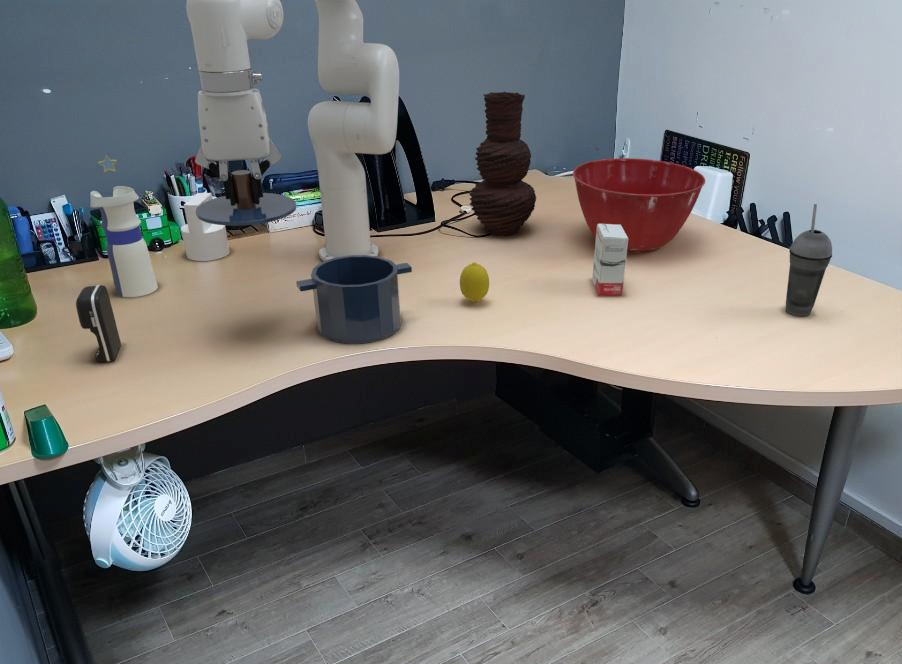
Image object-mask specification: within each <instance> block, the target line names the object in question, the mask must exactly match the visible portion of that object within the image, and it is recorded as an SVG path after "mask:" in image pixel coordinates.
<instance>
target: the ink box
mask: <svg viewBox="0 0 902 664" xmlns="http://www.w3.org/2000/svg"><path fill="white" fill-rule="evenodd" d="M594 242H595V244H594V254H593V267H592V276H591V278H592V283H593V286H594V287H595V291H596V294H597V296H601V297H602V296H609V297H610V296H612V297H613V296H623V291H624V282H625V273H626V272H625V271H626V263H627V255H628V252H627V246H628V237H627V235H626V233H625V232H624V230H623V228H622V226H621V225H614V224H597V231H596V238H595V241H594Z"/></svg>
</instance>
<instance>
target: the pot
mask: <svg viewBox="0 0 902 664" xmlns="http://www.w3.org/2000/svg"><path fill="white" fill-rule="evenodd" d="M412 272H413V268H412V266H411V265H410V264H409V263H408V262H402V263H395V262H394V261H393V260H390V259H388V258H385V257H382V256H369V255H349V256H343V257H337V258H332V259H329V260H327V261H321V262H320V263H318V264H317V265H315V266H314V267H313V268H312V270H311V273H310V278H308V279H303V280H296V282H295V284H296V287H297V289H298V291H300V292H307V291H311V290H312V295H313V302H314V303H313V305H314V311H315V320H316V327H317V329H318V333H319V334H320V336H321V337H323V338H325V339H327V340H329V341H332V342H335V343H339V344H349V345H356V344H358V345H359V344H370V343H373V342H379V341H383V340H385V339H387V338H390V337H392V336H393V335H395V334H396V333H397V332H398V331H399V330H400V328H401V325H402V316H401V315H402V312H401V296H400V281H399V280H400V279H399V275H404V274H408V273H412Z"/></svg>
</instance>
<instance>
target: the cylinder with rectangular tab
mask: <svg viewBox="0 0 902 664" xmlns="http://www.w3.org/2000/svg"><path fill="white" fill-rule="evenodd" d="M212 199H213V195H212V192H197V193H196V194H194V196H192V197H191V198H190V199H189V200H188V201H187V202H185V203H184V204H183V208H184V213H185V219H186V224H184V225H182V226H181V227H180V232H181V236H182V241H183V246H184V250H185V255H186V258H187V259H188V260H190V261H195V262H211V261H215V260H219V259H222V258H225V257H227V256H228V255H229V254H230V244H229V241H228V235H227V228H226V225H216V224H211V223H207V222H204V221H202V220H200V219H198V217H197V216H196V208H197V207H198V206H199V205H201V204H202V203H204V202H206V201H209V200H212Z"/></svg>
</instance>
